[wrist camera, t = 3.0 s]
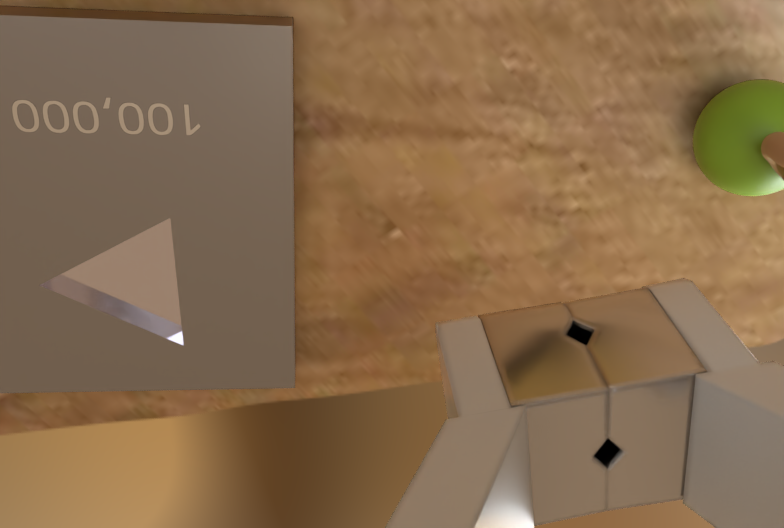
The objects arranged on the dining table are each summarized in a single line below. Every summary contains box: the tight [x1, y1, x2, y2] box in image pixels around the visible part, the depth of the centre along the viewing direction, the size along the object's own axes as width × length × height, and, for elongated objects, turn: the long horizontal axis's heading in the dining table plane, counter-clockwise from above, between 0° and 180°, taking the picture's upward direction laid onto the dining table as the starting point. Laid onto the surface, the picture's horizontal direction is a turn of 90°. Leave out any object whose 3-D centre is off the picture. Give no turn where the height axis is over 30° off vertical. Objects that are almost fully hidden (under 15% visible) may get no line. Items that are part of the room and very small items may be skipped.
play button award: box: [0, 6, 295, 393], centre depth 36 cm, size 16×2×20 cm
